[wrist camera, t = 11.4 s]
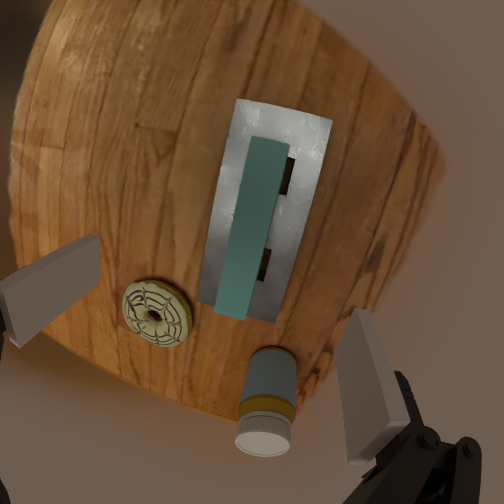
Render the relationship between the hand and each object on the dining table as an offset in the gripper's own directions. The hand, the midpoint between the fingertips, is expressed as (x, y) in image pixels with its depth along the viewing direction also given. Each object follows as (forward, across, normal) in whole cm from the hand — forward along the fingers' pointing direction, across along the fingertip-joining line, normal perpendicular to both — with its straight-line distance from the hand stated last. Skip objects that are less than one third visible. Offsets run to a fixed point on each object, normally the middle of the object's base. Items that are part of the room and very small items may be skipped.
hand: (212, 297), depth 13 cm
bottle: (+21, +7, -21) cm, 30 cm away
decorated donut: (+21, -11, -17) cm, 29 cm away
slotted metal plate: (+21, 0, 0) cm, 21 cm away
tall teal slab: (+21, 0, 0) cm, 21 cm away
